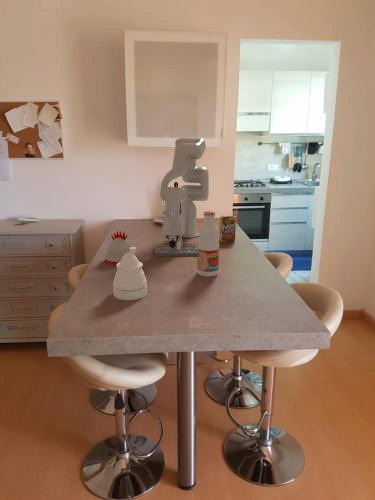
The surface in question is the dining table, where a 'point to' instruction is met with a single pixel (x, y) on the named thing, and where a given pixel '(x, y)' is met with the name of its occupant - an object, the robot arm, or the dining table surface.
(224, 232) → the candy box
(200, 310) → the dining table surface
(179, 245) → the fader
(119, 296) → the honey pot
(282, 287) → the dining table surface
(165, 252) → the console
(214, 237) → the fruit juice
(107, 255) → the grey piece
